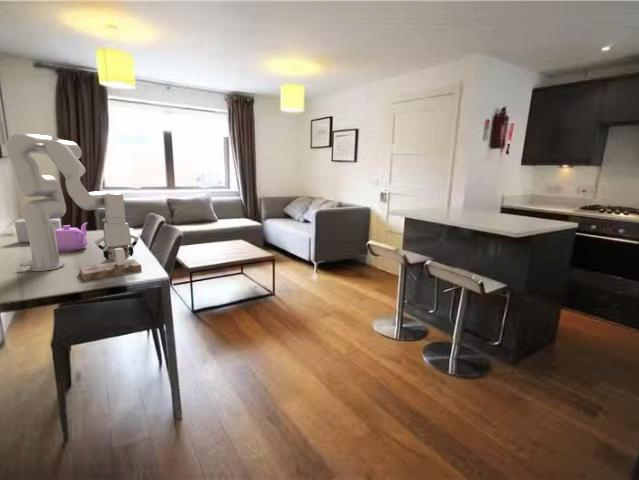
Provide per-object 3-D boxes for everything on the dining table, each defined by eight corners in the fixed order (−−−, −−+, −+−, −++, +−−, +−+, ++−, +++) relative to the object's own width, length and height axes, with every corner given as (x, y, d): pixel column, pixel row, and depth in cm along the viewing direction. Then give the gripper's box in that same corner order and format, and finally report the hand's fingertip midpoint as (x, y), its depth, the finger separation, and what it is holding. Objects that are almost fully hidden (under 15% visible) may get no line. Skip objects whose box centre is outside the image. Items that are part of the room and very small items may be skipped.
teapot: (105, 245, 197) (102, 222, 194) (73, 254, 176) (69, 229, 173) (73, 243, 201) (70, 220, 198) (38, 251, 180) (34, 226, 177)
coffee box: (116, 260, 169) (113, 229, 165) (105, 259, 170) (102, 228, 166) (129, 255, 177) (127, 226, 174) (119, 254, 179) (116, 225, 175)
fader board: (84, 280, 139) (83, 273, 138) (79, 273, 147) (79, 267, 147) (141, 271, 154) (140, 264, 153) (134, 265, 162) (133, 258, 161)
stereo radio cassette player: (17, 243, 195) (11, 210, 191) (22, 240, 203) (17, 208, 198) (60, 241, 204) (56, 209, 200) (64, 238, 211) (60, 207, 207)
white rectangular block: (117, 265, 150) (116, 250, 148) (115, 263, 153) (113, 248, 151) (125, 264, 152) (124, 249, 150) (123, 262, 155) (121, 247, 154)
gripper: (94, 223, 140) (98, 262, 143) (139, 220, 151) (142, 256, 155) (91, 220, 145) (95, 258, 149) (134, 218, 156) (137, 252, 160)
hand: (119, 257), depth 152 cm, fingers open, 9 cm apart
